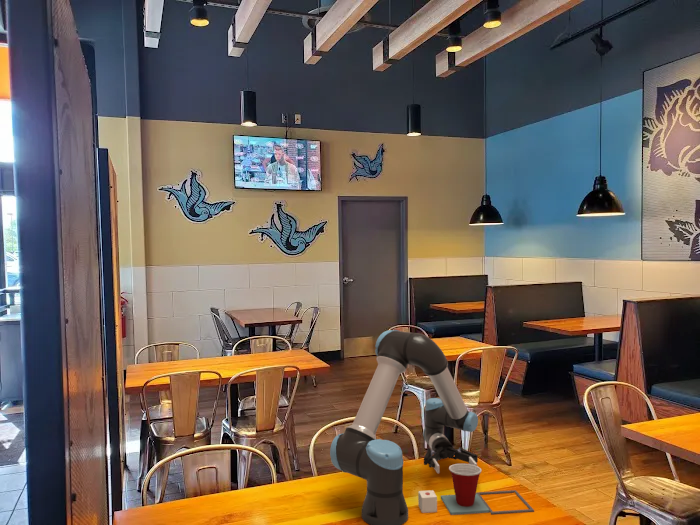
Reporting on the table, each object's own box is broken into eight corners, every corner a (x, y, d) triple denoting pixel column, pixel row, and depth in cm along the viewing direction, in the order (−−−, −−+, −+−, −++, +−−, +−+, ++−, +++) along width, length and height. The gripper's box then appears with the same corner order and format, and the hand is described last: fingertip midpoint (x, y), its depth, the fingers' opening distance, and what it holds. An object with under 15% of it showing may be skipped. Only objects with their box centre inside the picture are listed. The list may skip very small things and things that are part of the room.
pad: (450, 514, 178) (450, 512, 178) (440, 497, 190) (440, 495, 190) (489, 512, 179) (489, 510, 179) (476, 495, 191) (476, 493, 191)
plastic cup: (478, 495, 190) (478, 461, 189) (484, 510, 179) (484, 474, 178) (447, 494, 190) (447, 460, 190) (450, 509, 180) (450, 474, 179)
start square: (491, 514, 178) (491, 512, 178) (476, 493, 193) (476, 492, 192) (534, 511, 180) (534, 510, 180) (515, 491, 194) (515, 490, 194)
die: (422, 512, 179) (422, 497, 179) (418, 505, 184) (418, 490, 184) (436, 511, 180) (436, 496, 180) (432, 504, 185) (432, 489, 185)
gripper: (471, 454, 215) (491, 477, 194) (409, 457, 213) (422, 480, 191) (471, 435, 215) (491, 456, 194) (409, 438, 212) (422, 459, 191)
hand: (457, 468), depth 193 cm, fingers open, 13 cm apart
